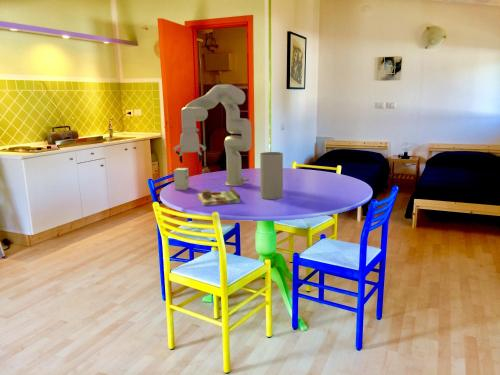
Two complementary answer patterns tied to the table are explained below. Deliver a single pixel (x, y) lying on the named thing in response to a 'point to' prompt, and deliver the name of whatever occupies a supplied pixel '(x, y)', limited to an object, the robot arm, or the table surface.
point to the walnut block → (206, 194)
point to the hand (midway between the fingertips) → (190, 162)
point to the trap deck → (221, 198)
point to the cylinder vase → (271, 175)
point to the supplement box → (181, 178)
